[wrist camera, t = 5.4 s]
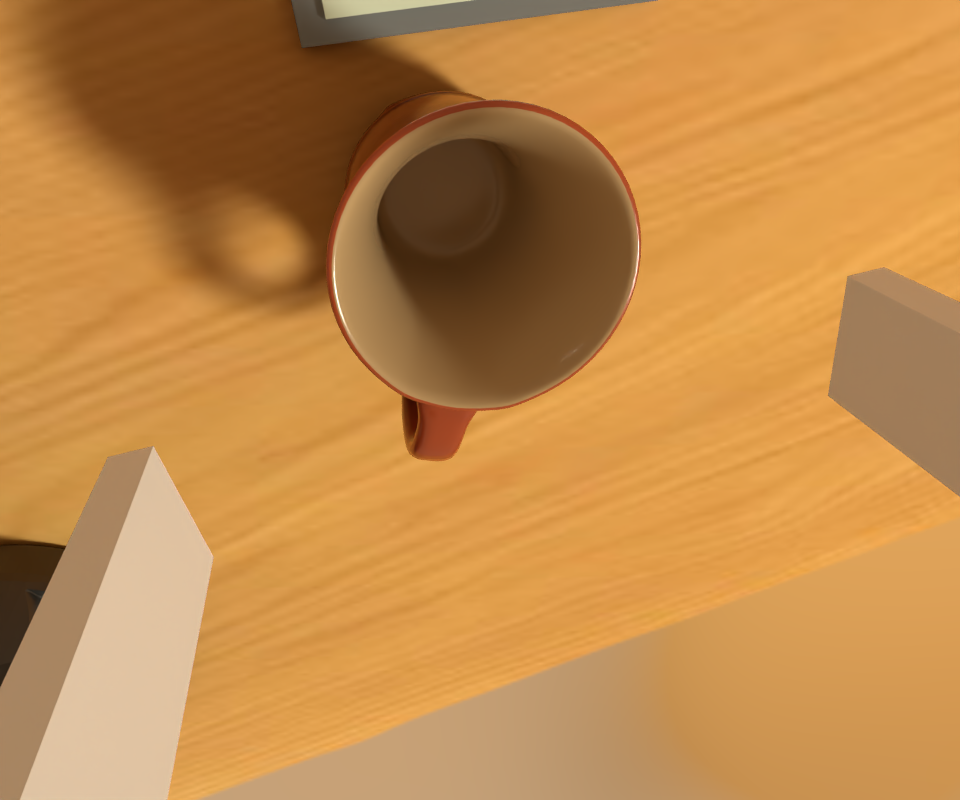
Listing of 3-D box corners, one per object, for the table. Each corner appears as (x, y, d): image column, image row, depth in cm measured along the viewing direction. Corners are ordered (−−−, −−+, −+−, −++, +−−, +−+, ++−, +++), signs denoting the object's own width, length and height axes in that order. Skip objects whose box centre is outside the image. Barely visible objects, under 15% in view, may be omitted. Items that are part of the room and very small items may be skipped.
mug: (344, 36, 23) (353, 57, 14) (569, 97, 25) (690, 146, 17) (305, 339, 29) (294, 484, 20) (492, 364, 31) (554, 502, 22)
